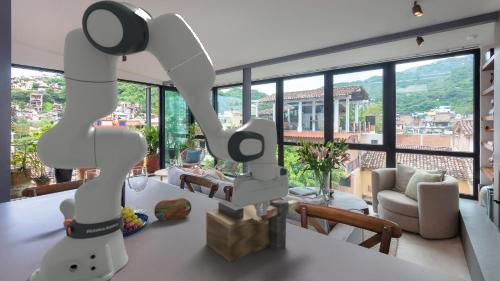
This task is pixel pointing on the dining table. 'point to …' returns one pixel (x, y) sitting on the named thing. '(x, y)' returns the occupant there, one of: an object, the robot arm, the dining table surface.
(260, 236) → the toolbox
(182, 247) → the dining table surface
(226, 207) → the lid
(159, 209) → the tin
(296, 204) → the light wooden bar
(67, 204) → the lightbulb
